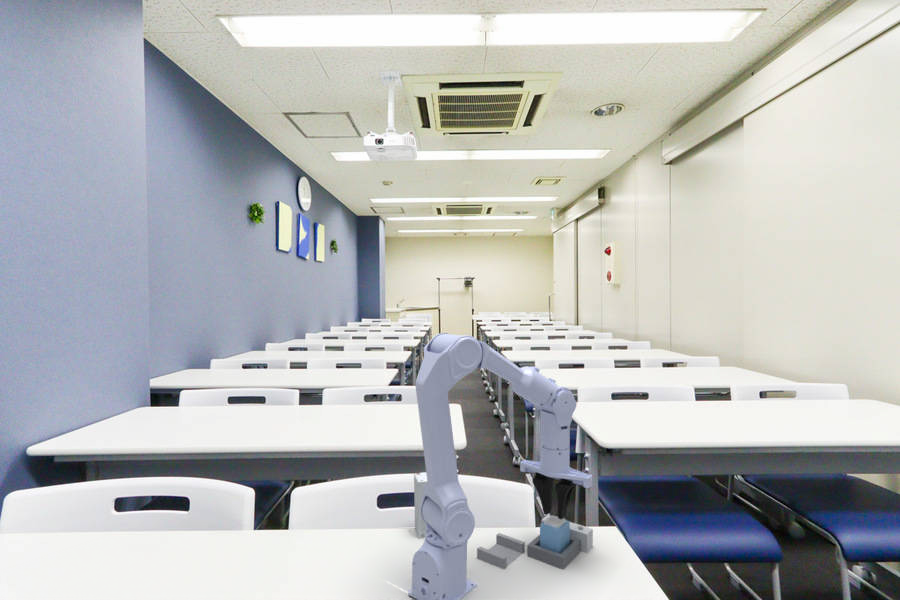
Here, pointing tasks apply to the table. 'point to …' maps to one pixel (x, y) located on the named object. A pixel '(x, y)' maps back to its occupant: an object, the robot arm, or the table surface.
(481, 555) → the grey u-shaped bracket
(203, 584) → the table surface
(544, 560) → the port
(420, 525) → the skincare box
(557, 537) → the plug
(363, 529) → the table surface
